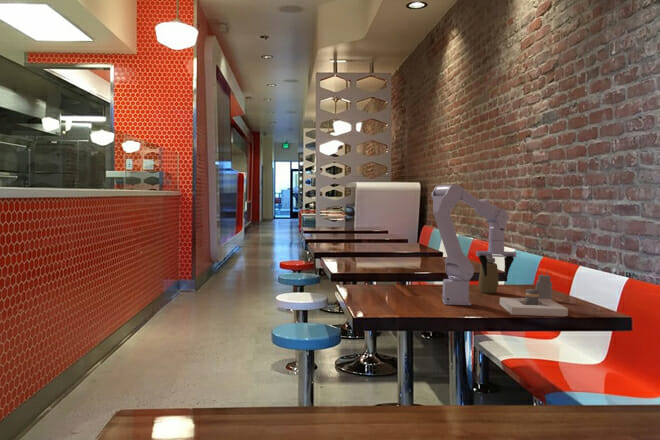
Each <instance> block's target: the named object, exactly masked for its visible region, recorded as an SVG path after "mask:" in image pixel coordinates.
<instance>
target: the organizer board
mask: <svg viewBox="0 0 660 440" xmlns="http://www.w3.org/2000/svg"><path fill="white" fill-rule="evenodd" d="M499 305H500V306H501V307H502V308H503V309H505V310H506V311H507V312H508V313H510V315H515V316H535V317H536V316H537V317H539V316H542V317H565V316H568V315H569V309H568V308H567V307H565V306H563V305H562V304H560V303H558V302H556V301H555V300H551V299H538V305H526V297H499Z"/></svg>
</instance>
